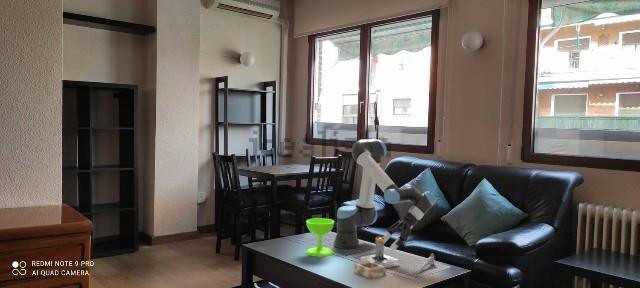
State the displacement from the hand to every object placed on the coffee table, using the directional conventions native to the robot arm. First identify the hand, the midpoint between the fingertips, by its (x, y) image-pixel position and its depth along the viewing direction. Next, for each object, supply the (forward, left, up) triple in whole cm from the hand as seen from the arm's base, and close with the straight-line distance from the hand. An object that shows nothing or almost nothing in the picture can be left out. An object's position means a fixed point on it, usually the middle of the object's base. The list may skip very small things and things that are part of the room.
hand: (386, 246), depth 237 cm
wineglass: (-36, -18, -10) cm, 41 cm away
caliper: (+16, +12, -10) cm, 23 cm away
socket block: (-2, -3, -10) cm, 10 cm away
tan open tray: (+7, -17, -10) cm, 20 cm away
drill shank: (-2, -3, -10) cm, 10 cm away
